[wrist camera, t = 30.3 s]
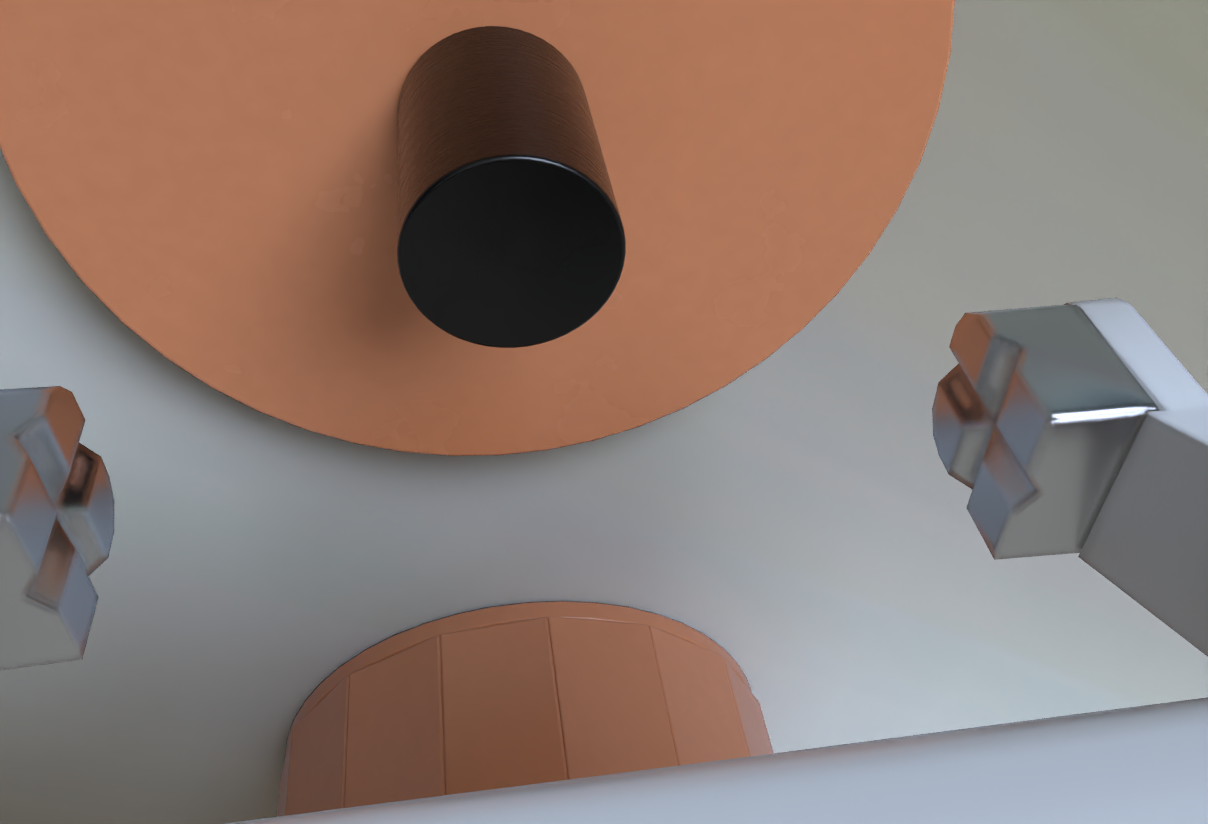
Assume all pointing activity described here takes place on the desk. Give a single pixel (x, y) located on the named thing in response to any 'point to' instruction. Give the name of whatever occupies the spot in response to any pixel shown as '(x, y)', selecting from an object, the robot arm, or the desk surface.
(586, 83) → the pot lid
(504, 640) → the pot
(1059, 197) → the desk surface
